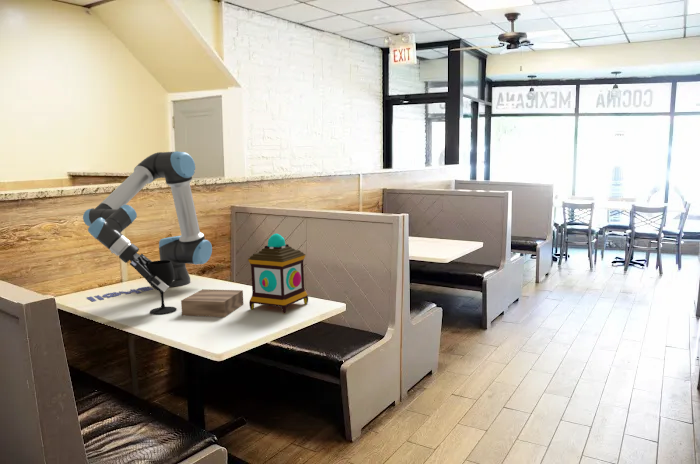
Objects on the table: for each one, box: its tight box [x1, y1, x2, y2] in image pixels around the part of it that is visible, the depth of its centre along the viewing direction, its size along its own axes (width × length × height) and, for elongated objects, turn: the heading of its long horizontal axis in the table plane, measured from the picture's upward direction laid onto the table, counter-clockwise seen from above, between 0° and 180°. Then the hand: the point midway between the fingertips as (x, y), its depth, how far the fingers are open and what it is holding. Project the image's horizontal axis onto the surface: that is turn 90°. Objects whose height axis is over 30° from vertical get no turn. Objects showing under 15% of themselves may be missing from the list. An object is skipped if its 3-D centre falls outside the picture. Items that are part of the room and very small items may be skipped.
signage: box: [86, 286, 154, 303], centre depth 251 cm, size 28×1×10 cm
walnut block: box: [180, 288, 244, 318], centre depth 220 cm, size 18×18×6 cm
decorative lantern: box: [247, 233, 309, 315], centre depth 221 cm, size 20×20×30 cm
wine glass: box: [147, 259, 178, 316], centre depth 219 cm, size 10×10×20 cm
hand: (169, 286), depth 220 cm, fingers closed on wine glass, 10 cm apart
